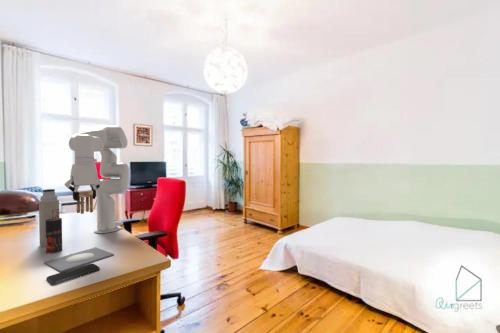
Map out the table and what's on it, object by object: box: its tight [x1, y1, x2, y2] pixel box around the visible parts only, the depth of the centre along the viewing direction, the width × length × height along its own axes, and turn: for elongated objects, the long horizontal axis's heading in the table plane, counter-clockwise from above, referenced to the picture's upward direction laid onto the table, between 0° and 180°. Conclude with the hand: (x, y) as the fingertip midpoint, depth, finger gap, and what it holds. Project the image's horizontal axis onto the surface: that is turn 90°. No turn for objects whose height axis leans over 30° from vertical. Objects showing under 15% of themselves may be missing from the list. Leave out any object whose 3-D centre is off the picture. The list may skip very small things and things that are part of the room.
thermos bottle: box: [38, 188, 60, 248], centre depth 124 cm, size 8×8×28 cm
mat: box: [43, 247, 115, 273], centre depth 105 cm, size 20×16×1 cm
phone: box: [46, 263, 101, 286], centre depth 90 cm, size 8×1×15 cm
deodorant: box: [45, 217, 63, 255], centre depth 114 cm, size 6×6×15 cm
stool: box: [76, 190, 94, 215], centre depth 114 cm, size 6×6×10 cm
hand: (84, 199), depth 114 cm, fingers closed on stool, 6 cm apart
